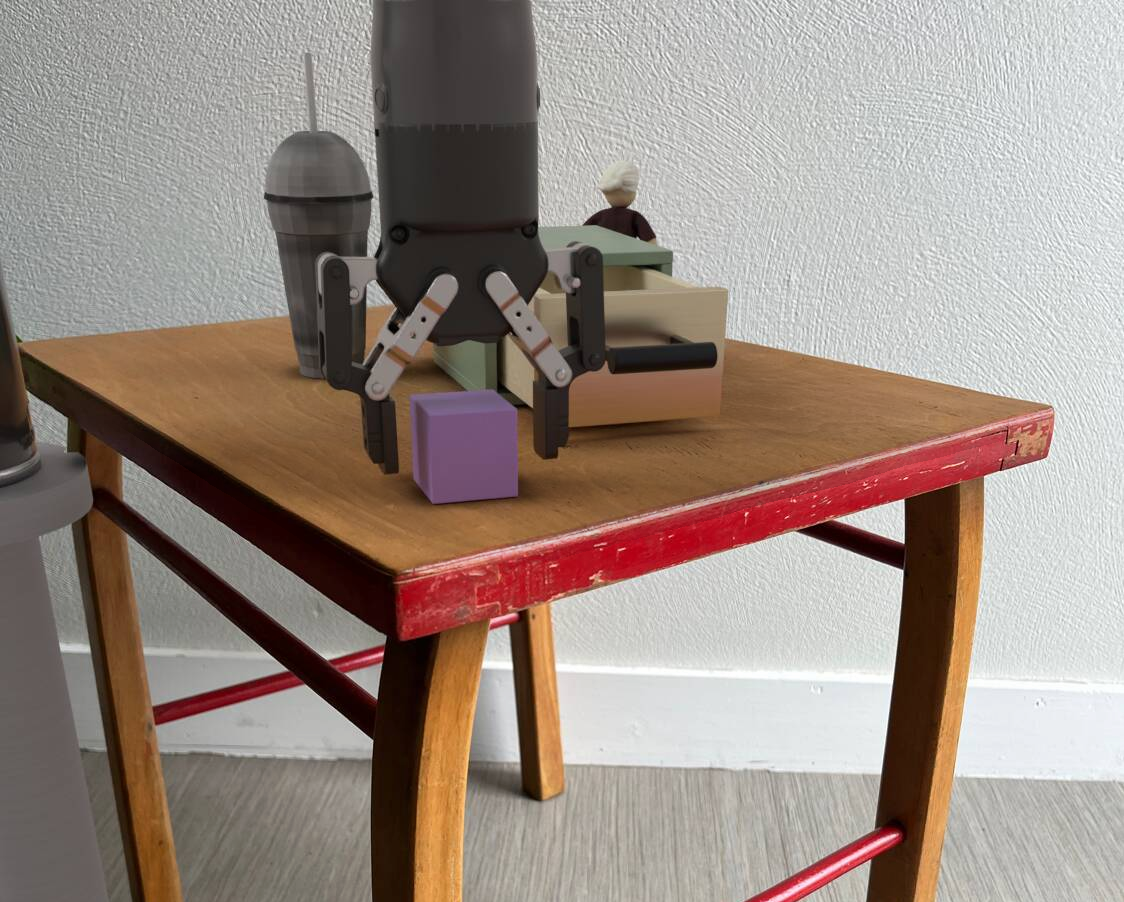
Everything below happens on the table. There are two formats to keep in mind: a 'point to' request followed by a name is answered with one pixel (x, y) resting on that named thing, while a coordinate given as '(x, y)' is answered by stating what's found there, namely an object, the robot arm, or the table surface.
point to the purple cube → (464, 446)
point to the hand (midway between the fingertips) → (467, 463)
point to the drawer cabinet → (479, 360)
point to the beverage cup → (317, 223)
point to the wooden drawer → (635, 350)
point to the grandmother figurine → (622, 203)
